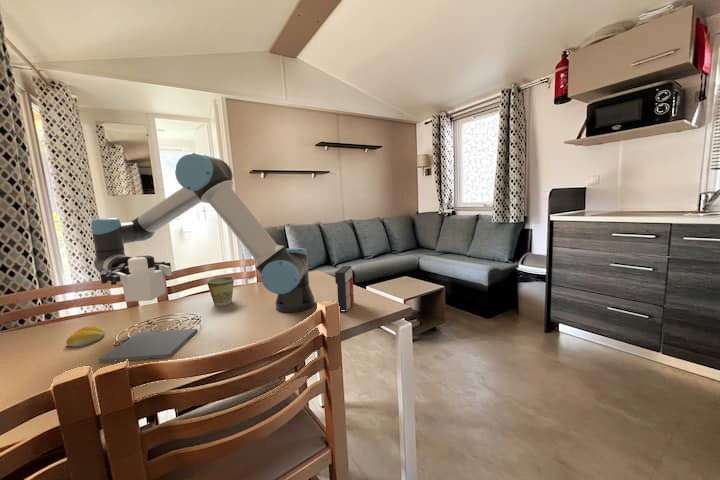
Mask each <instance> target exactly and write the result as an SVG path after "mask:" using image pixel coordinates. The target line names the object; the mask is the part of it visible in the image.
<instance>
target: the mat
mask: <svg viewBox="0 0 720 480" xmlns="http://www.w3.org/2000/svg"><path fill="white" fill-rule="evenodd" d="M196 333H198V328H188V329H187V328H186V329H185V328H184V329H171V330H155V331H144V332H143V331H142V332H141V331H140V332H138V333H136V334H134V335H133V336H131V337H129V338H128V339H126V340H125V341H124V342H122V343H121V344H120V345H118V346H116V347H115V348H113V349H112V350H111V351H108V353H106V354H104V355H103V356H101V357H100V358H99V359H98V361H99V363H110V361H114V362H124V361H125V360H126V359H128V361H139V360H140V361H141V359H142V360H150V359H149V358H156V359H168V358H171V357H172V356H173V355H174V354H175V353H177V351H179V349H180V348H182V347H183V346H184V345H185V343H187V342H188V341H189V340H190V339H191V338H192V337H193V336H195V335H196ZM115 360H116V361H115ZM123 360H124V361H123Z"/></svg>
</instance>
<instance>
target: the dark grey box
mask: <svg viewBox="0 0 720 480" xmlns="http://www.w3.org/2000/svg"><path fill="white" fill-rule="evenodd" d="M334 277H335V278H334V279H335V284H336V286H337V304H338V303H339V306H340V311H341V310H345V311H346V310H347V311H349V310H350V308H351V306H353V304H354V301H355V300H354V278H353V267H352V265H342V266H341V267H339V269H337V270H336V271H335V272H334ZM348 309H349V310H348Z"/></svg>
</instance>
